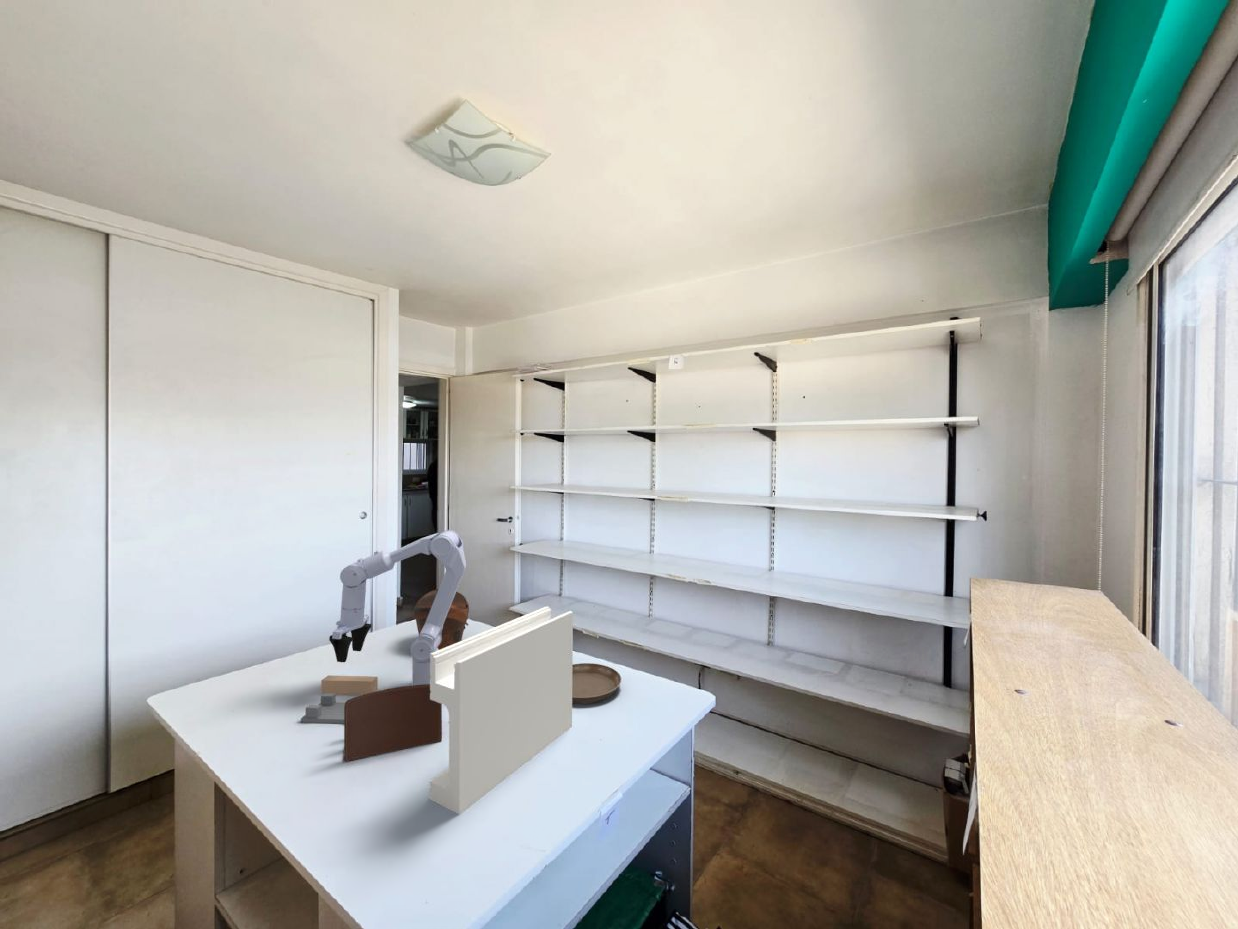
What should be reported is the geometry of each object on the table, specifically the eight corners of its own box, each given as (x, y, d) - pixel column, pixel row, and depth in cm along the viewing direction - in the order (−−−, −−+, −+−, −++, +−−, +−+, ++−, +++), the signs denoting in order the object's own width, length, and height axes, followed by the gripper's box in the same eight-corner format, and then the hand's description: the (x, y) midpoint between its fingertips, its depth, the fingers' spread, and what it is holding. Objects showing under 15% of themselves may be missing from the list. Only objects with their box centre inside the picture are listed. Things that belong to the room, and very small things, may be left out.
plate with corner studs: (382, 707, 131) (382, 694, 131) (365, 724, 123) (365, 710, 123) (321, 706, 132) (321, 692, 132) (300, 722, 124) (300, 708, 124)
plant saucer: (588, 717, 128) (588, 704, 128) (531, 693, 141) (531, 681, 141) (635, 687, 145) (635, 675, 145) (581, 668, 157) (581, 657, 157)
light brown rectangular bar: (377, 691, 141) (377, 676, 141) (372, 696, 138) (372, 681, 138) (328, 689, 141) (328, 675, 141) (321, 694, 138) (321, 680, 138)
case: (438, 662, 159) (439, 605, 159) (400, 649, 170) (400, 595, 170) (482, 646, 174) (483, 593, 174) (444, 634, 185) (445, 585, 185)
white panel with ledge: (459, 814, 93) (459, 663, 92) (429, 799, 97) (430, 653, 96) (571, 726, 123) (572, 611, 122) (545, 717, 127) (546, 606, 127)
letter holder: (442, 742, 116) (442, 681, 116) (343, 763, 108) (343, 698, 108) (438, 721, 125) (438, 664, 125) (346, 739, 117) (346, 678, 117)
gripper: (353, 598, 147) (349, 645, 147) (322, 613, 132) (318, 665, 132) (377, 600, 146) (373, 647, 147) (349, 616, 132) (345, 668, 132)
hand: (349, 656), depth 139 cm, fingers open, 7 cm apart
